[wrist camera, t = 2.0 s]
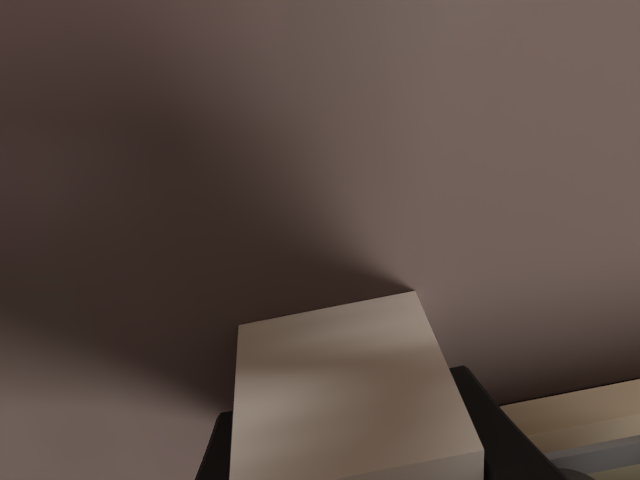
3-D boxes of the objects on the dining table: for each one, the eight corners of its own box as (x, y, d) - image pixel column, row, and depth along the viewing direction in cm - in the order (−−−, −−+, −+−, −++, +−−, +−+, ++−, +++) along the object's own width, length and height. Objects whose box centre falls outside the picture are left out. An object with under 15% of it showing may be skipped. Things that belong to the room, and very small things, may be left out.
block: (276, 436, 13) (281, 611, 10) (238, 325, 11) (228, 499, 8) (424, 407, 13) (481, 572, 10) (414, 290, 11) (483, 449, 8)
